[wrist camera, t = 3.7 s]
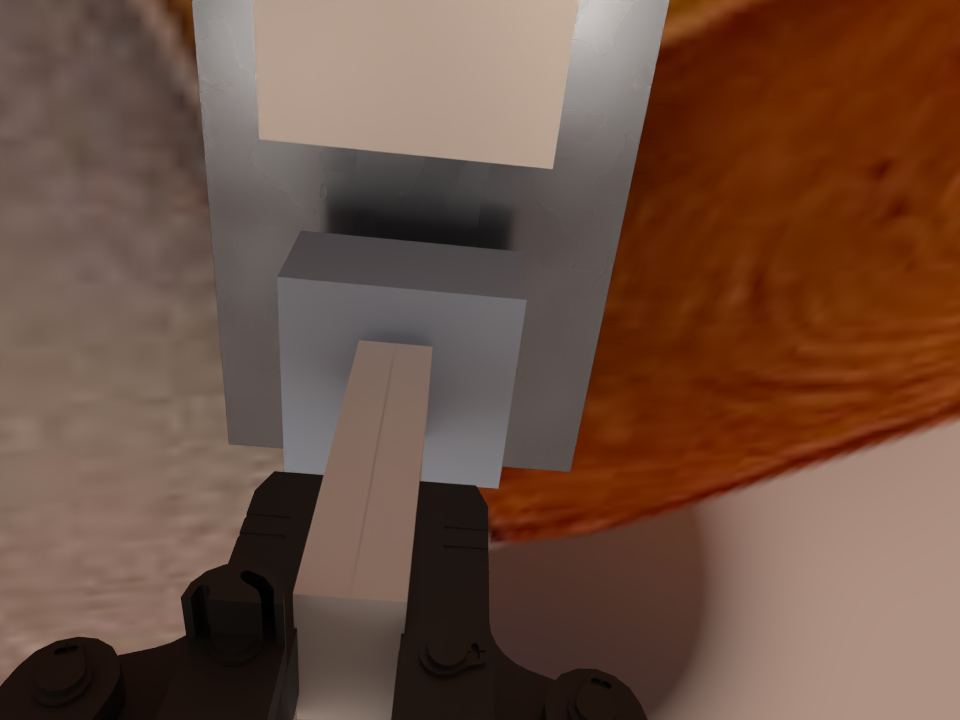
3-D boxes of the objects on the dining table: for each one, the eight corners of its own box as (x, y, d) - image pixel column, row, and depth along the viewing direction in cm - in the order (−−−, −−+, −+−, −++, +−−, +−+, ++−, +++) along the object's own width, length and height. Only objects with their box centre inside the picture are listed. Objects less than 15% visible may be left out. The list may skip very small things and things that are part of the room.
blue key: (321, 191, 20) (276, 276, 15) (517, 210, 20) (527, 300, 16) (322, 358, 22) (284, 471, 18) (495, 374, 23) (498, 488, 18)
